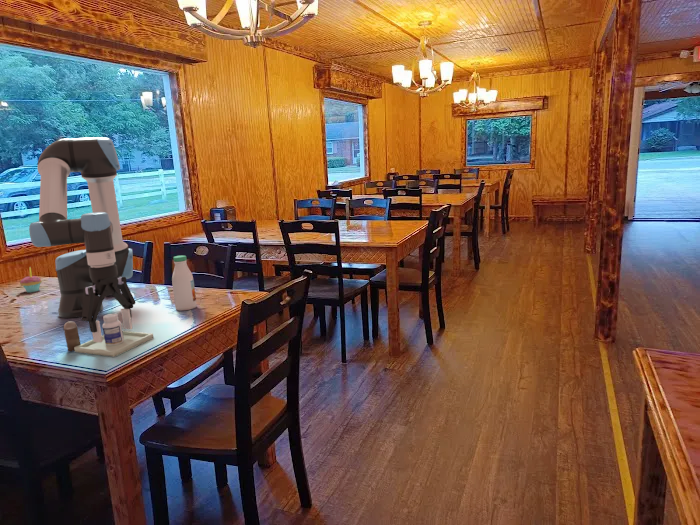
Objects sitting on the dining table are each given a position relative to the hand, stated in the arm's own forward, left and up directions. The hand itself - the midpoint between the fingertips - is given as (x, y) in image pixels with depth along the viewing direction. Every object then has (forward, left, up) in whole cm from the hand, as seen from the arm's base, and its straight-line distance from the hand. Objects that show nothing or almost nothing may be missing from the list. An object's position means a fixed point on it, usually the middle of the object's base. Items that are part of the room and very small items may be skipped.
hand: (113, 335), depth 154 cm
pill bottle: (0, 0, -3) cm, 3 cm away
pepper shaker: (-10, -6, -3) cm, 12 cm away
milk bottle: (-4, +38, -3) cm, 38 cm away
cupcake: (-98, +46, -3) cm, 109 cm away
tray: (0, 0, -3) cm, 3 cm away
